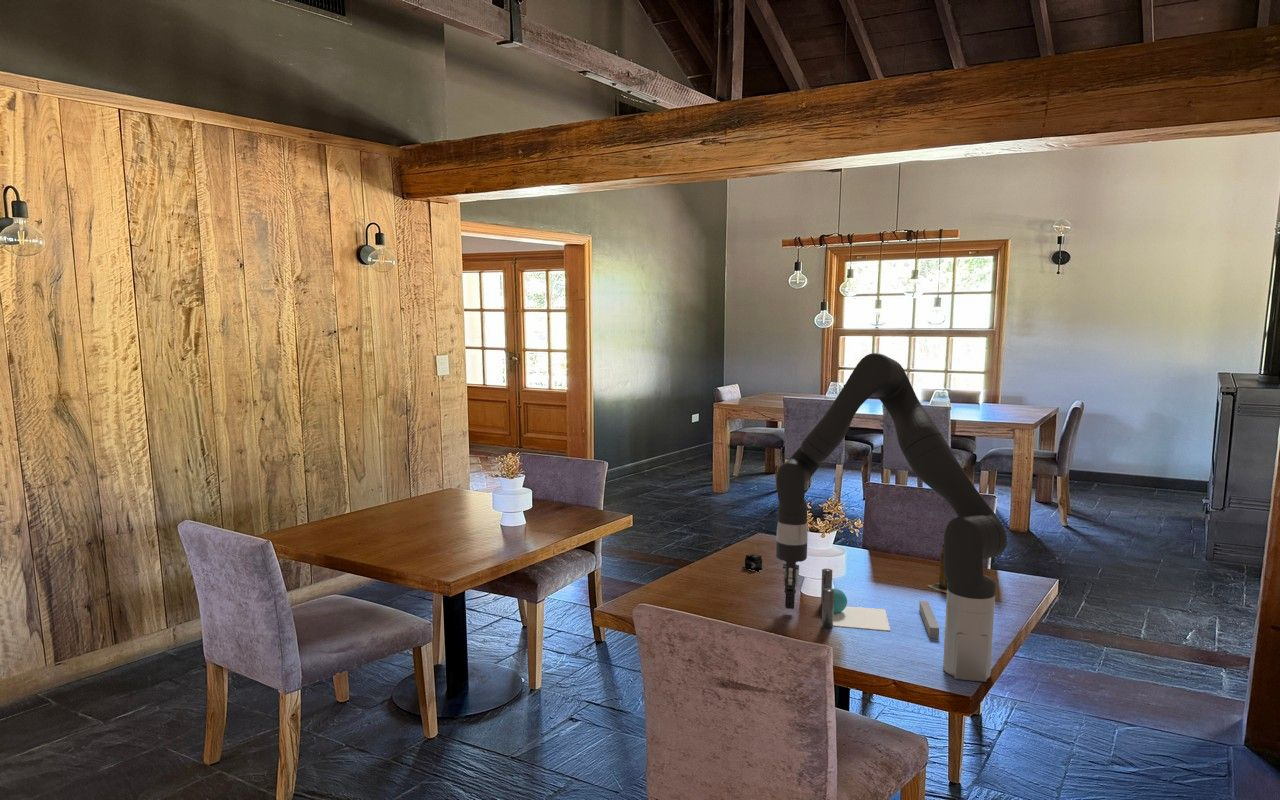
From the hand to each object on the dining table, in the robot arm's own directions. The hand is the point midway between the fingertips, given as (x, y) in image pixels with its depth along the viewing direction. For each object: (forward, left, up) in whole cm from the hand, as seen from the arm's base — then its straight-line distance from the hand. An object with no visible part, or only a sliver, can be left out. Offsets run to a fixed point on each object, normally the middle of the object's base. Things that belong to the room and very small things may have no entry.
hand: (789, 607), depth 199 cm
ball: (+3, -11, +2) cm, 11 cm away
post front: (-7, -9, -2) cm, 11 cm away
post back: (+9, -9, -2) cm, 13 cm away
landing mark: (+1, -16, -2) cm, 17 cm away
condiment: (+30, -42, -2) cm, 52 cm away
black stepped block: (+34, +11, -2) cm, 36 cm away
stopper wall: (+1, -33, -2) cm, 33 cm away
